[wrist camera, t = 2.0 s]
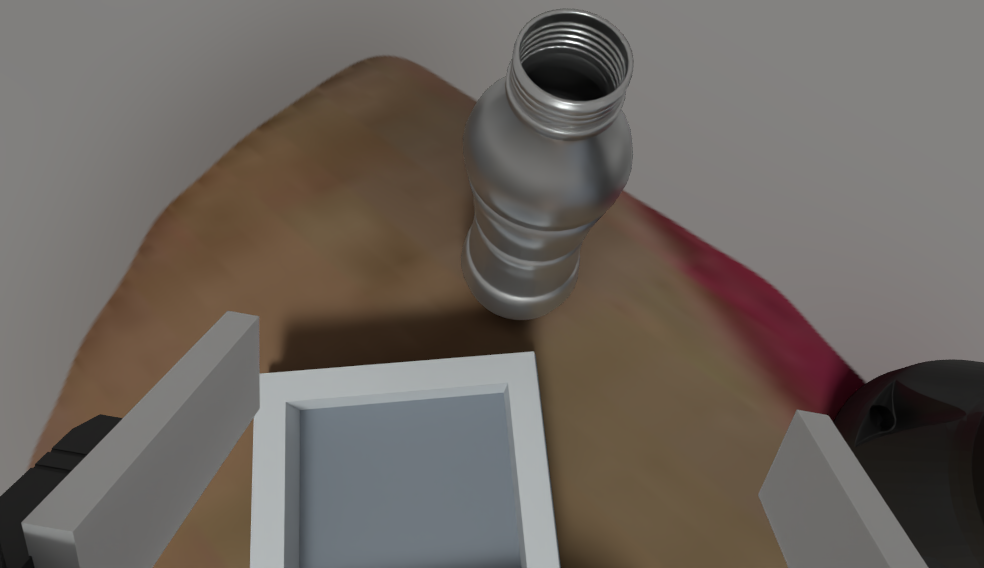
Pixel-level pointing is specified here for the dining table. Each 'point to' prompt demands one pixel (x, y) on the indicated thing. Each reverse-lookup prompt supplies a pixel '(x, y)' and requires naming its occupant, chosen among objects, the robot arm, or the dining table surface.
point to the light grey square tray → (403, 467)
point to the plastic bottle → (545, 161)
